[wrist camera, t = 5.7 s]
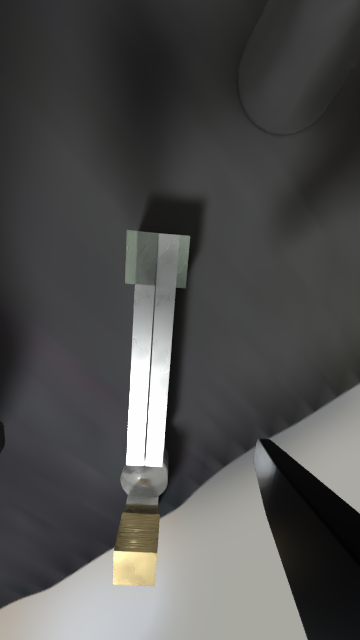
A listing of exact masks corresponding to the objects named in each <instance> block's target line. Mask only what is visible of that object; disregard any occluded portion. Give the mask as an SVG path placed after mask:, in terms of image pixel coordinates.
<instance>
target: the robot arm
mask: <svg viewBox="0 0 360 640" xmlns="http://www.w3.org/2000/svg"><path fill="white" fill-rule="evenodd" d="M4 445H5V434H4V425H3V423H2V422H1V421H0V453H1V451H2V449H3V447H4ZM254 466H255V471H256V474H257V479H258V483H259V488H260V492H261V495H262V500H263V505H264V509H265V512H266V516H267V519H268V522H269V525H270V528H271V531H272V534H273V537H274V540H275V543H276V546H277V549H278V552H279V555H280V558H281V561H282V564H283V567H284V570H285V573H286V576H287V579H288V582H289V585H290V588H291V591H292V594H293V597H294V600H295V603H296V606H297V609H298V612H299V615H300V618H301V621H302V624H303V627H304V630H305V633H306V636H307V639H308V640H360V514H359V513H358V512H357V511H356V510H355V509H354V508H352V507H351V506H350V505H349V504H347V503H346V502H345V501H344V500H343V499H341V498H340V497H339V496H338V495H336V494H335V493H334V492H333V491H332V490H331V489H329V488H328V487H327V486H326V485H324V484H323V483H322V482H321V481H320V480H318V479H317V478H316V477H315V476H314V475H312V474H311V473H310V472H309V471H308V470H306V469H305V468H304V467H303V466H301V465H300V464H299V463H298V462H297V461H295V460H294V459H293V458H292V457H290V456H289V455H288V454H287V453H286V452H285V451H283V450H282V449H281V448H280V447H278V446H277V445H276V444H275V443H274V442H272V441H271V440H270V439H258V440H257V443H256V448H255V454H254Z"/></svg>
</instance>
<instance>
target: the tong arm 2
mask: <svg viewBox="0 0 360 640" xmlns="http://www.w3.org/2000/svg"><path fill="white" fill-rule="evenodd" d="M189 244H190V236H184V235H173V234H161V233H159V240H158V258H157V276H156V293H155V311H154V328H153V346H152V364H151V381H150V399H149V416H148V434H147V452H146V466H155V467H162V463H163V450H164V437H165V423H166V410H167V397H168V384H169V371H170V358H171V344H172V331H173V318H174V305H175V292H176V288H186V279H187V267H188V256H189Z"/></svg>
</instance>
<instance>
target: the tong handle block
mask: <svg viewBox="0 0 360 640" xmlns="http://www.w3.org/2000/svg"><path fill="white" fill-rule="evenodd" d="M146 452H147V447H146ZM146 452H145V458H144V464H143V466H138V465H127V457H126V460H125V464H124V468H123V472H122V475H121V485H122V487H123V489H124V491H125V492H126V493H127V494H128V498H127V502H126V513H139V514H157V511H158V498H159V495H161V494H162V493H163V492H164V490H165V489H166V487H167V482H168V460H169V454H168V450H167V448H166V447H165V446H164V450H163V463H162V467H155V466H146Z"/></svg>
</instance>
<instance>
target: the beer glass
mask: <svg viewBox="0 0 360 640" xmlns="http://www.w3.org/2000/svg"><path fill="white" fill-rule="evenodd" d="M359 62H360V0H267V3H266V6H265V8H264V10H263V12H262V14H261V16H260V18H259V20H258V22H257V24H256V26H255V27H254V29H253V31H252V33H251V35H250V37H249V39H248V41H247V43H246V46H245V48H244V51H243V53H242V56H241V60H240V64H239V70H238V90H239V96H240V100H241V103H242V105H243V108H244V110H245V112H246V113H247V115H248V116H249V118H250V119H251V120H252V121H253V122H254V123H255V124H256V125H257V126H258V127H260V128H261V129H263V130H265V131H267V132H269V133H272V134H278V135H287V134H293V133H296V132H299V131H301V130H303V129H305V128H307V127H308V126H310V125H311V124H313V123H314V122H315V121H316V120H317V119H318V118H319V117H320V116H321V115H322V114H323V113H324V111H325V110H326V109H327V107H328V106H329V104H330V103H331V101H332V100H333V98H334V97H335V95H336V94H337V92H338V90H339V89H340V87H341V86H342V84H343V82H344V81H345V80H346V78H347V77H348V75H349V74H350V73H351V71H352V70H353V69H354V68H355V67H356V65H357V64H358V63H359Z"/></svg>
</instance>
